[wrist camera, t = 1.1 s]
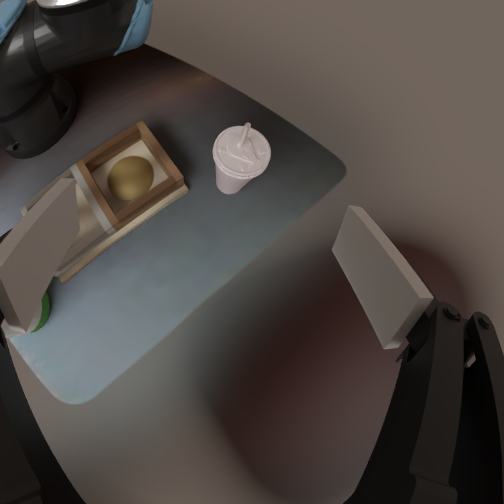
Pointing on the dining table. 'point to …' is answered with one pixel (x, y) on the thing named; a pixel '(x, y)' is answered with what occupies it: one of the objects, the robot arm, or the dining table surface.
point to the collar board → (116, 193)
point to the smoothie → (239, 157)
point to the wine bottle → (37, 321)
